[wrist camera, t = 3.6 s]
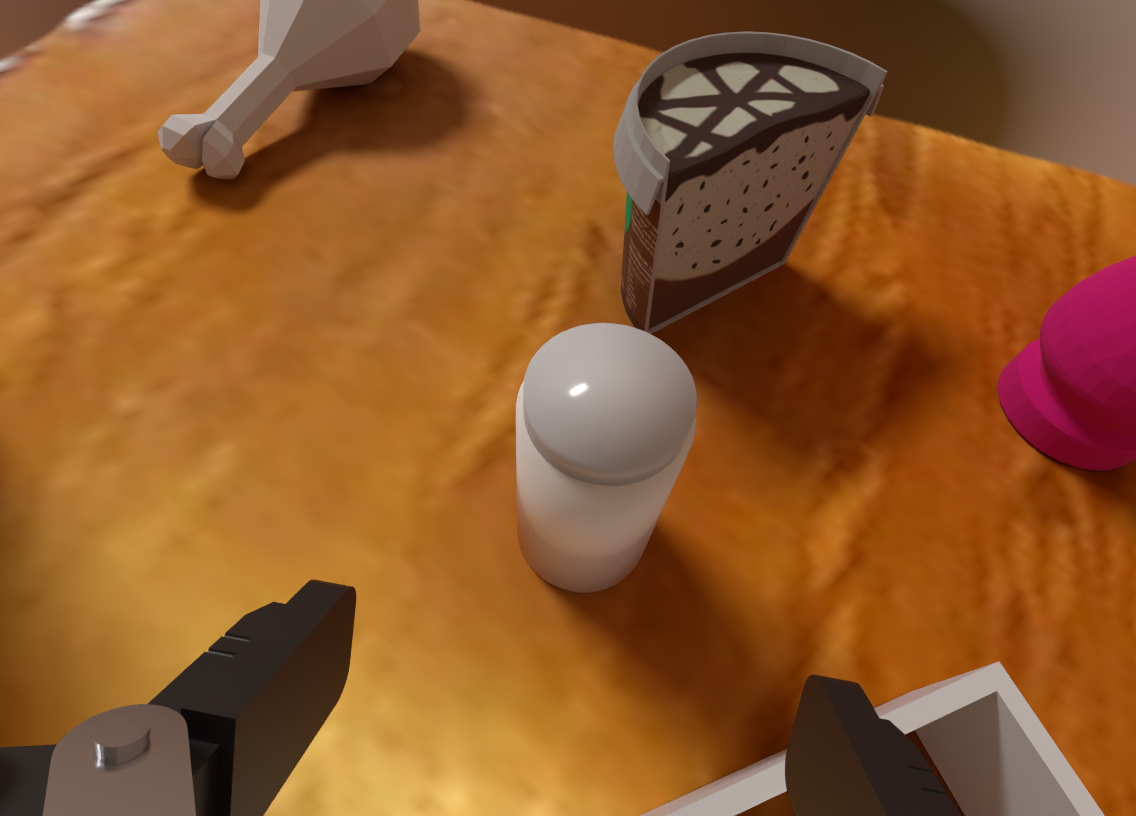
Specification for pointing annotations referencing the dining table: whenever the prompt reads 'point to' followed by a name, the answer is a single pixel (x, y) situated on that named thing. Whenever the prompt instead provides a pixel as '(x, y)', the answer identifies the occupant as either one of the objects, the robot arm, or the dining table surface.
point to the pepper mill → (1080, 375)
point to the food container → (729, 162)
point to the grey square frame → (943, 755)
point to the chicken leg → (292, 72)
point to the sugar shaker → (598, 451)
